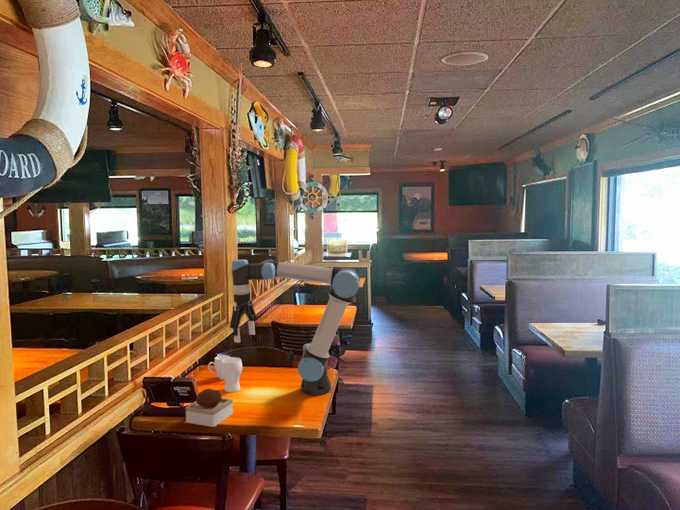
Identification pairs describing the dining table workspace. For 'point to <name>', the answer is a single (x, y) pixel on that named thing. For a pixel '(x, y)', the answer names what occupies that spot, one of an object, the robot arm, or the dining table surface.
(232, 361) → the cup
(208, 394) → the potato
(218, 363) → the mug
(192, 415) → the tray
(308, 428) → the dining table surface
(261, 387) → the dining table surface
